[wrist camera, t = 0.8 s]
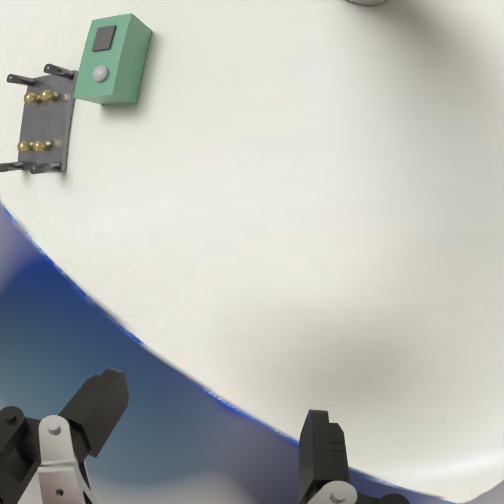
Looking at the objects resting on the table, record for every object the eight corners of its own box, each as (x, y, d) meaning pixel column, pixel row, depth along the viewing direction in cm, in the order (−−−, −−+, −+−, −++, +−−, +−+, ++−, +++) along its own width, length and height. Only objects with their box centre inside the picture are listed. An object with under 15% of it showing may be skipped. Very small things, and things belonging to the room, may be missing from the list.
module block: (116, 35, 30) (89, 18, 24) (152, 31, 30) (129, 11, 23) (101, 104, 33) (70, 97, 26) (137, 103, 32) (109, 93, 26)
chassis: (33, 80, 32) (6, 75, 26) (79, 71, 31) (52, 62, 26) (21, 169, 36) (-6, 172, 30) (65, 171, 35) (36, 174, 30)
